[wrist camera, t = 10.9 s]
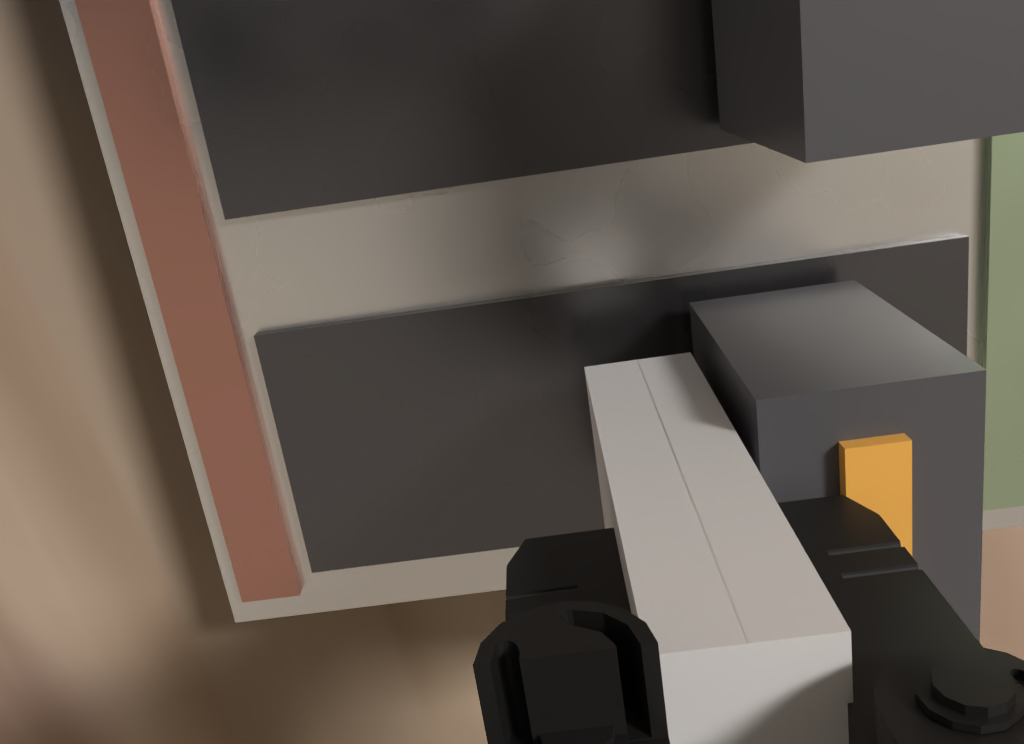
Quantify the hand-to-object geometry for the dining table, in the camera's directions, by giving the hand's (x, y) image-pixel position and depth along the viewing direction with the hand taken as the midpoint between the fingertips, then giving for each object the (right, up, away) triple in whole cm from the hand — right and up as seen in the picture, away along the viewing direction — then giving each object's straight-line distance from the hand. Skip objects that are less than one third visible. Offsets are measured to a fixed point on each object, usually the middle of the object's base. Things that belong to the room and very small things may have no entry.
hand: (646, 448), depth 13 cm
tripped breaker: (+2, +1, +1) cm, 2 cm away
